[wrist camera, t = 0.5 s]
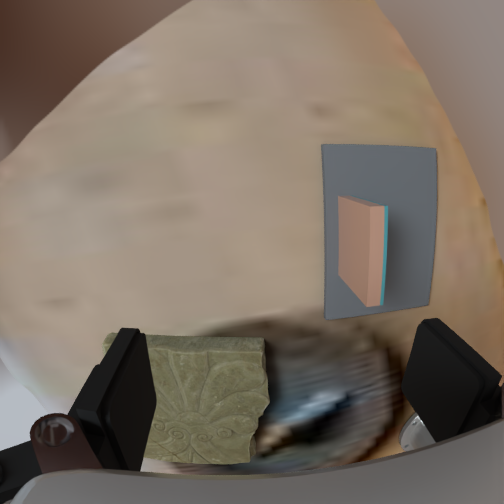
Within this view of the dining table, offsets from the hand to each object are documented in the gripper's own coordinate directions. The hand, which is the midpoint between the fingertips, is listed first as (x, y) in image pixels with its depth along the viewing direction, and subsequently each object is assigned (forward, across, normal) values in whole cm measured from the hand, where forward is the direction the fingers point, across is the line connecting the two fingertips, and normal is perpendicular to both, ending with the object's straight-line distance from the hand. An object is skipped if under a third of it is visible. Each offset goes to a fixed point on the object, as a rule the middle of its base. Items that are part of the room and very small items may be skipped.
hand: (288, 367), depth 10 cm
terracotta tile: (+21, -9, +1) cm, 23 cm away
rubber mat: (+22, -14, 0) cm, 26 cm away
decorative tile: (+23, +7, +22) cm, 32 cm away
